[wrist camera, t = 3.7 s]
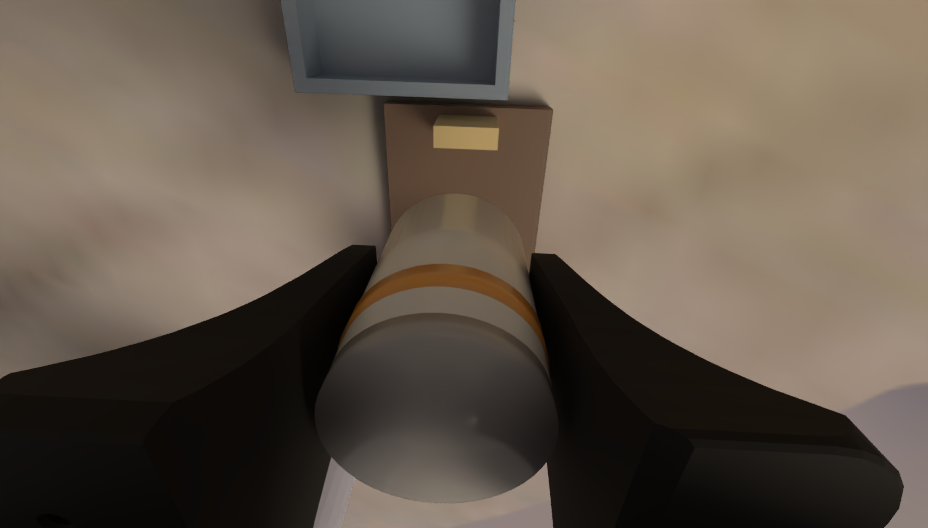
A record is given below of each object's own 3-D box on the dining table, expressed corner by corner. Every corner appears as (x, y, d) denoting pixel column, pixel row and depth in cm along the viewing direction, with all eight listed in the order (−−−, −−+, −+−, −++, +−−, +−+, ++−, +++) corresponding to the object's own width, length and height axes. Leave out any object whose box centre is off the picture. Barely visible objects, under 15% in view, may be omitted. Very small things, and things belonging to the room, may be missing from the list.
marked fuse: (389, 312, 13) (328, 498, 8) (381, 188, 11) (291, 327, 6) (518, 318, 13) (544, 510, 8) (533, 195, 11) (582, 341, 6)
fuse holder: (401, 343, 24) (391, 384, 21) (387, 100, 18) (369, 113, 15) (519, 349, 24) (524, 390, 21) (550, 106, 17) (563, 120, 15)
